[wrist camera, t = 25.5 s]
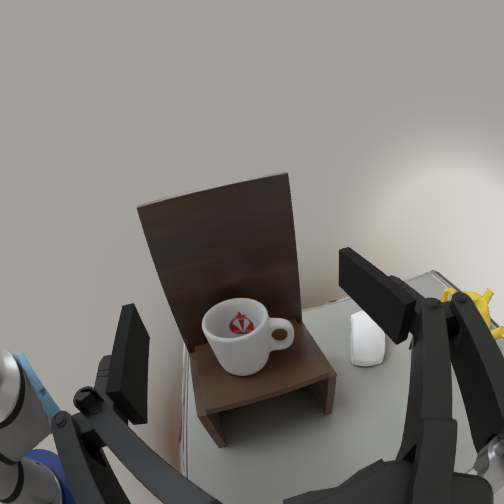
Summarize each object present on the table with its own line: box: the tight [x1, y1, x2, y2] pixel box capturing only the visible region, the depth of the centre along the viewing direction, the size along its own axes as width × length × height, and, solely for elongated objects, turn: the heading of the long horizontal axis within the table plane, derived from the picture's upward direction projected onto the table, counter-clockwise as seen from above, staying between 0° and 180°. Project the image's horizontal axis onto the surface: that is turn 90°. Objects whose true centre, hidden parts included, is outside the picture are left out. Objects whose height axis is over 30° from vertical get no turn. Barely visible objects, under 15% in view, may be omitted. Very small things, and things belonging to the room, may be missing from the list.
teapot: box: [442, 288, 504, 340], centre depth 39 cm, size 14×14×11 cm
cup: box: [202, 298, 294, 376], centre depth 33 cm, size 11×8×8 cm
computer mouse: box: [350, 311, 385, 366], centre depth 47 cm, size 6×13×6 cm, turn 166°
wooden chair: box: [137, 172, 337, 448], centre depth 33 cm, size 13×18×34 cm
